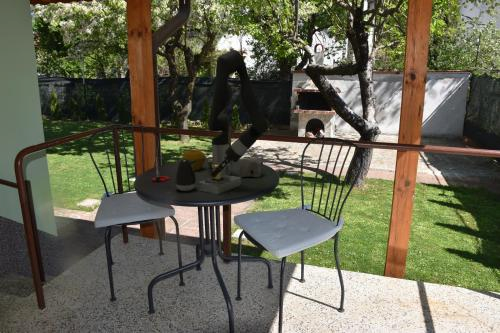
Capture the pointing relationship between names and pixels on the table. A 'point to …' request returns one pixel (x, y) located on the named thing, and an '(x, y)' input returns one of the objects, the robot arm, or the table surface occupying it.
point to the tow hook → (157, 178)
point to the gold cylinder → (218, 176)
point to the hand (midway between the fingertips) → (213, 174)
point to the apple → (195, 158)
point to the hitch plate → (219, 184)
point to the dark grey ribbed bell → (185, 175)
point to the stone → (250, 167)
